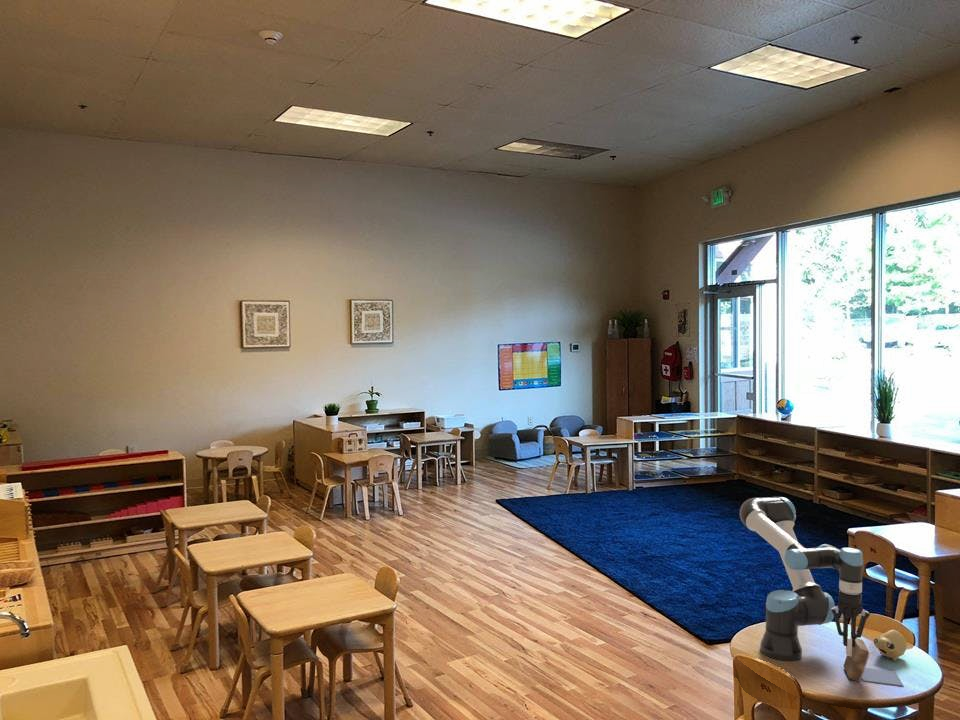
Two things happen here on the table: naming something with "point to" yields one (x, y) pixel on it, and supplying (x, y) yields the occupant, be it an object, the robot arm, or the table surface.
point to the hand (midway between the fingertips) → (848, 654)
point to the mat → (881, 677)
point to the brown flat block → (857, 660)
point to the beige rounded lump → (891, 644)
